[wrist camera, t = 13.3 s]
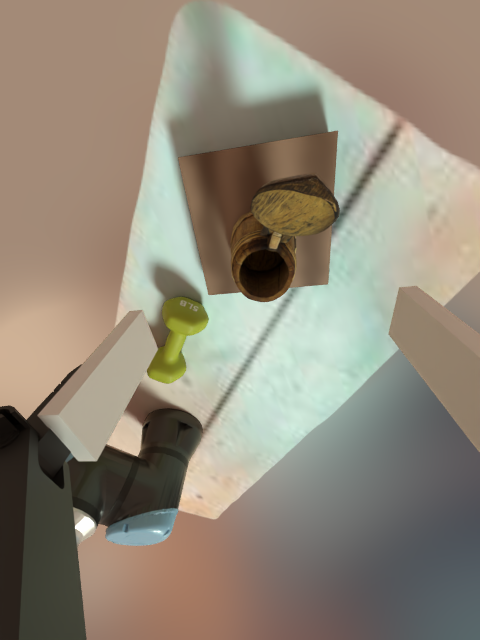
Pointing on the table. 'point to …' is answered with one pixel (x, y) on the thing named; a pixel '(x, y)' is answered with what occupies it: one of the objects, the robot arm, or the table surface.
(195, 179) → the walnut stand
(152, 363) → the dumbbell
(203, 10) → the table surface
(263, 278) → the wooden mug
